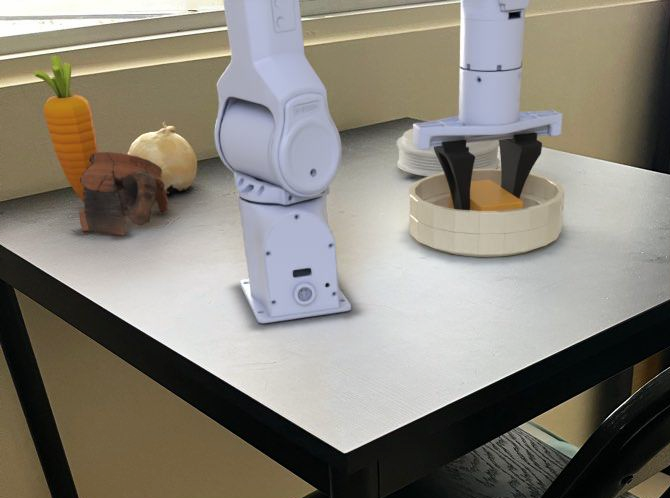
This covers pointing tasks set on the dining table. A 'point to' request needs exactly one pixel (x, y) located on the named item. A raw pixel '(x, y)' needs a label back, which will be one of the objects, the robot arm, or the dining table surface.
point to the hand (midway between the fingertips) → (485, 217)
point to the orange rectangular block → (490, 197)
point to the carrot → (69, 125)
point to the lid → (429, 163)
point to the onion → (168, 156)
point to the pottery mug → (120, 192)
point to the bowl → (486, 218)
